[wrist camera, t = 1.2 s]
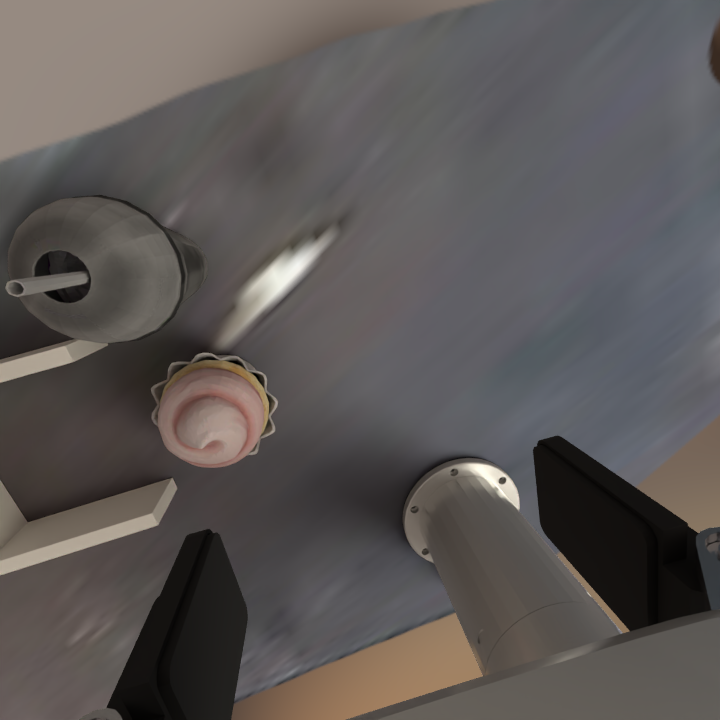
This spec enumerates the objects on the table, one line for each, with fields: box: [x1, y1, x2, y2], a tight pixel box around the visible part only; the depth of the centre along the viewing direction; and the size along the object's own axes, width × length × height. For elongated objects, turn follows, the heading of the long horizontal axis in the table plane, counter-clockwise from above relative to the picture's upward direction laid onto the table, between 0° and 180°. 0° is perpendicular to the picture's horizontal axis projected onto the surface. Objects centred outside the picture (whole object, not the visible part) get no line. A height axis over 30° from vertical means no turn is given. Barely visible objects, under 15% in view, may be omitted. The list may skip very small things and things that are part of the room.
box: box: [0, 339, 177, 575], centre depth 30 cm, size 15×14×5 cm
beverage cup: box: [6, 195, 208, 343], centre depth 21 cm, size 7×7×20 cm
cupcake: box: [151, 353, 278, 468], centre depth 29 cm, size 9×9×10 cm
